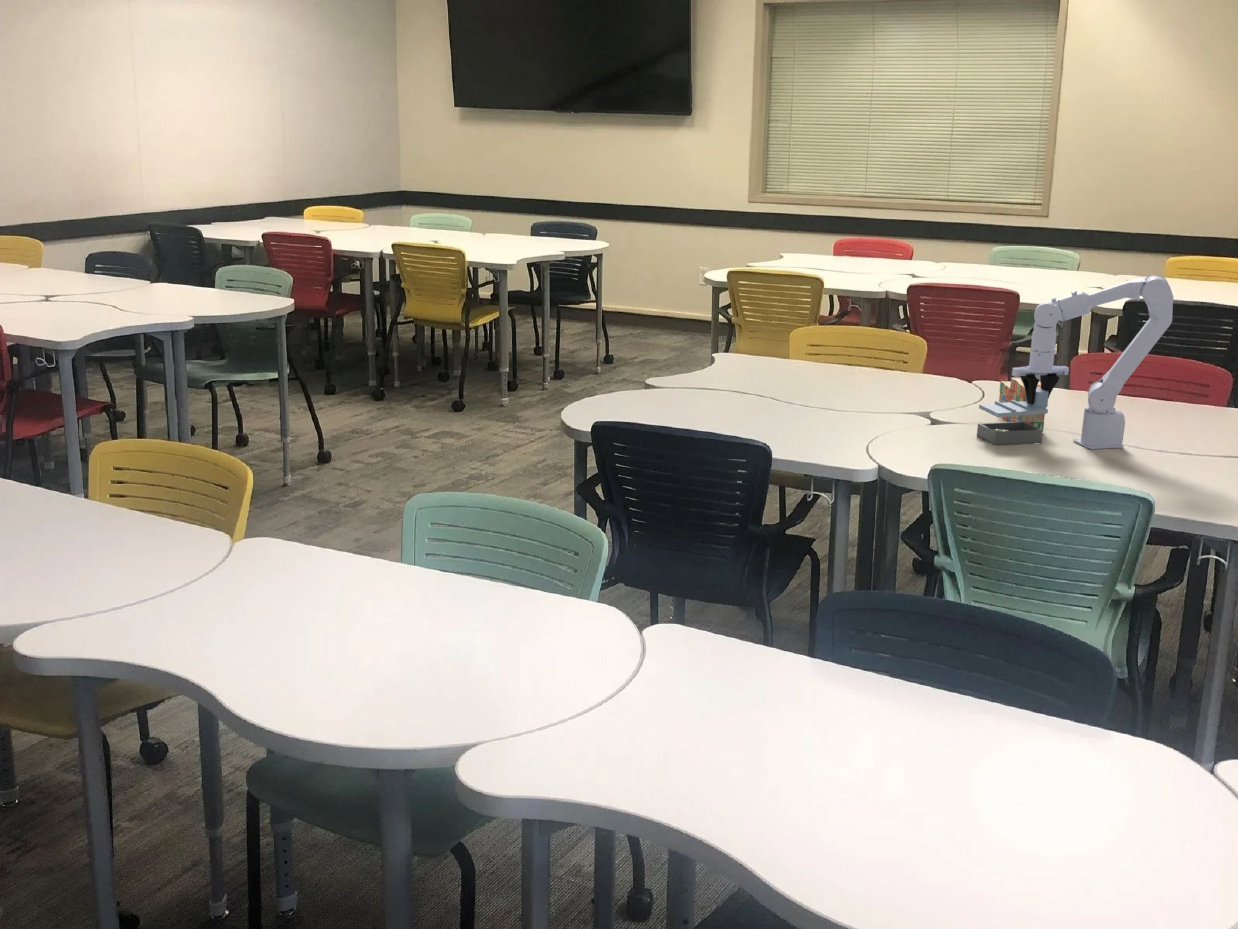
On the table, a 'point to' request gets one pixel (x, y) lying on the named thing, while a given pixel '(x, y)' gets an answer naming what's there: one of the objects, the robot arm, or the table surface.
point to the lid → (1019, 406)
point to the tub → (1009, 433)
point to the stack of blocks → (1018, 393)
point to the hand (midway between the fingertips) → (1036, 403)
